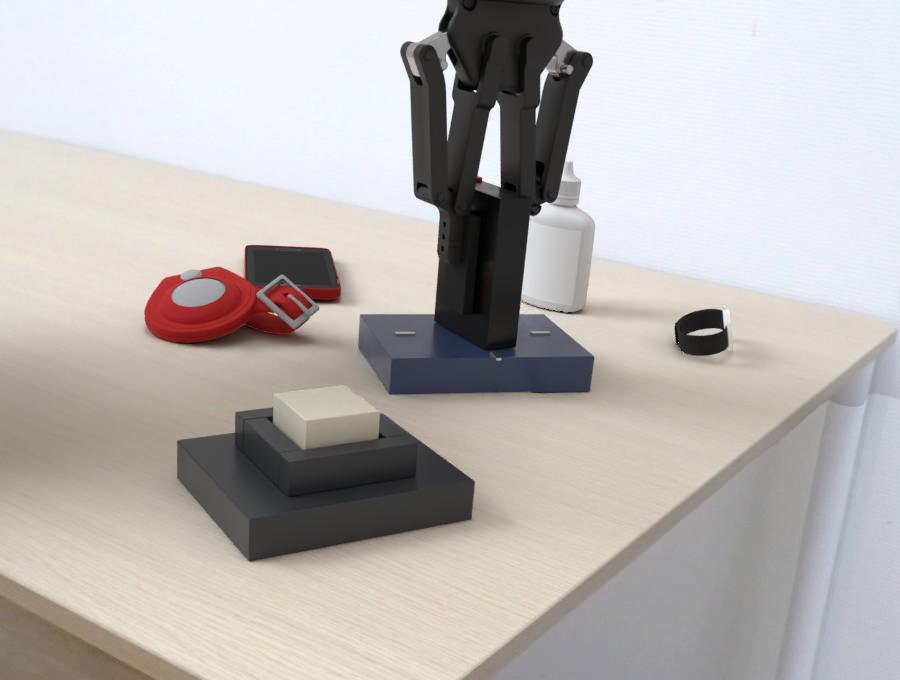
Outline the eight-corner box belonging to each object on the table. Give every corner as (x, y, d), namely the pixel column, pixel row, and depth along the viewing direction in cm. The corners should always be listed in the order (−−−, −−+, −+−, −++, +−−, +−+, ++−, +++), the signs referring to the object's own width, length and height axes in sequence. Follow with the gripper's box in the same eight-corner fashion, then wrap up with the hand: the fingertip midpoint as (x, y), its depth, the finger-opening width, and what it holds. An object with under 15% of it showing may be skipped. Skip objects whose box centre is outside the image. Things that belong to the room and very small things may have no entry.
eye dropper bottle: (547, 316, 96) (564, 167, 92) (513, 297, 101) (527, 155, 96) (591, 313, 98) (610, 167, 93) (556, 295, 103) (572, 155, 98)
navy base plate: (391, 398, 75) (393, 359, 74) (356, 344, 85) (358, 309, 84) (593, 394, 79) (598, 357, 78) (537, 343, 89) (541, 309, 88)
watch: (734, 367, 87) (743, 320, 86) (670, 359, 88) (678, 312, 86) (730, 339, 94) (738, 295, 93) (671, 331, 95) (678, 287, 93)
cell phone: (329, 258, 108) (330, 247, 107) (342, 301, 94) (342, 290, 94) (244, 254, 106) (244, 243, 106) (244, 298, 93) (244, 286, 93)
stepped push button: (248, 563, 53) (250, 482, 52) (176, 478, 61) (176, 406, 60) (471, 520, 59) (479, 447, 58) (380, 448, 67) (384, 382, 66)
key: (304, 454, 56) (306, 420, 56) (272, 425, 60) (273, 392, 59) (378, 443, 58) (380, 410, 58) (343, 415, 62) (344, 384, 61)
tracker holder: (147, 333, 79) (130, 263, 87) (161, 386, 82) (144, 313, 90) (320, 294, 82) (290, 228, 89) (329, 346, 85) (299, 279, 92)
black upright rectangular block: (516, 347, 79) (532, 194, 75) (486, 350, 78) (501, 195, 74) (462, 318, 84) (475, 174, 80) (433, 320, 83) (445, 174, 79)
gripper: (577, -59, 78) (539, 286, 87) (368, -81, 70) (350, 300, 79) (649, -56, 72) (600, 314, 81) (430, -79, 64) (403, 332, 73)
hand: (477, 306), depth 80 cm, fingers closed on black upright rectangular block, 2 cm apart
